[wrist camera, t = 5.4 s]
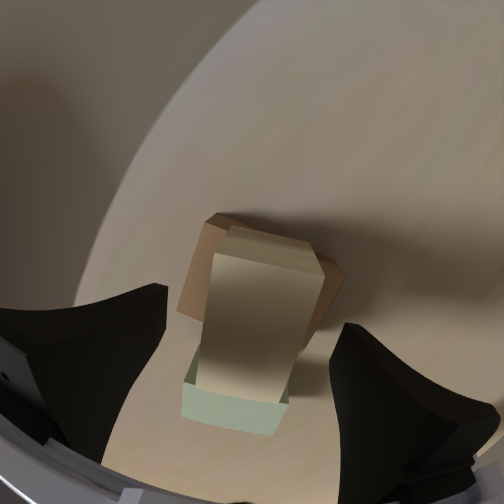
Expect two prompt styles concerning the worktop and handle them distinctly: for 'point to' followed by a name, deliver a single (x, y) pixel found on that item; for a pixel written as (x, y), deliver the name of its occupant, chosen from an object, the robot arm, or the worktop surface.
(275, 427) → the sage brick
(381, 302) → the worktop surface
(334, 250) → the worktop surface
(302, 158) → the worktop surface
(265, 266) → the maple brick
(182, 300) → the walnut slab
